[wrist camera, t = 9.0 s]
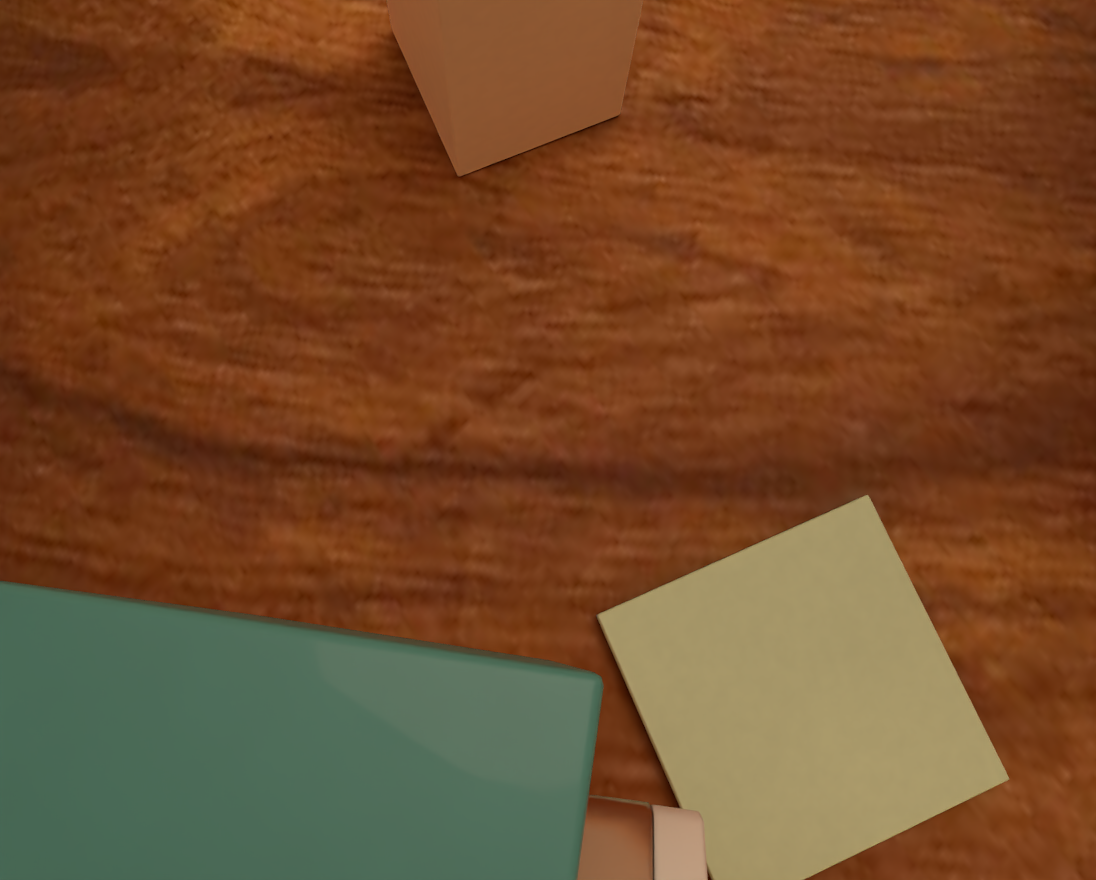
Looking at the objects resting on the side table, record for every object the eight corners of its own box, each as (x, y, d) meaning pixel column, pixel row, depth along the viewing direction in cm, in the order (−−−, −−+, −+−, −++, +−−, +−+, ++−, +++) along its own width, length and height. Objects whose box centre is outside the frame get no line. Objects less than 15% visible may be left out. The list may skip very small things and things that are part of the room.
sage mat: (725, 912, 22) (729, 916, 22) (595, 614, 23) (596, 614, 23) (1002, 777, 23) (1010, 779, 23) (862, 496, 24) (868, 493, 24)
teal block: (507, 986, 14) (508, 1403, 6) (186, 938, 14) (-205, 1296, 6) (554, 661, 15) (606, 674, 7) (254, 615, 15) (-17, 578, 7)
